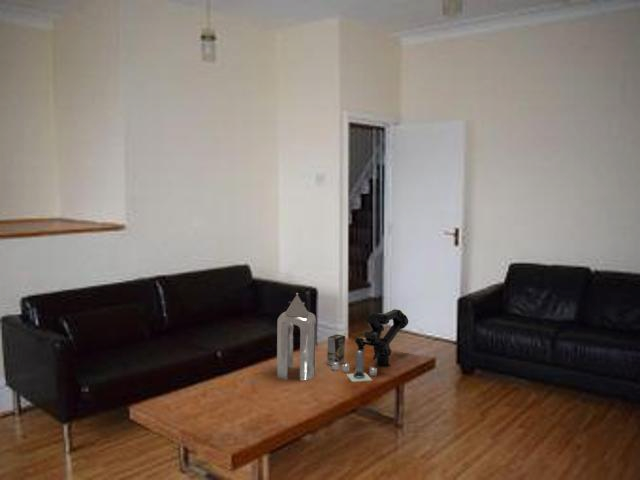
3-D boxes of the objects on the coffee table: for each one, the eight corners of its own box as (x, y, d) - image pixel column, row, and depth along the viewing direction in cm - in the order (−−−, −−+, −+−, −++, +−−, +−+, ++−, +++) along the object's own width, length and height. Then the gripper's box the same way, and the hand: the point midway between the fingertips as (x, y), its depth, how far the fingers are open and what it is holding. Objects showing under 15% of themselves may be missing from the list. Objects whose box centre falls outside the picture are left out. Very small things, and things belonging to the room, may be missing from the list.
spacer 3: (373, 373, 319) (373, 366, 318) (378, 375, 315) (378, 368, 315) (368, 374, 316) (368, 367, 316) (372, 377, 313) (372, 370, 312)
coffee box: (335, 366, 329) (336, 339, 327) (326, 364, 333) (327, 336, 331) (345, 362, 336) (345, 335, 335) (336, 360, 340) (336, 333, 338)
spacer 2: (348, 369, 324) (348, 362, 323) (350, 372, 320) (350, 365, 320) (341, 370, 323) (341, 363, 323) (343, 372, 319) (343, 365, 319)
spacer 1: (337, 368, 327) (338, 361, 326) (339, 370, 323) (339, 363, 322) (331, 368, 326) (331, 361, 325) (332, 370, 322) (332, 363, 321)
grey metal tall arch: (316, 368, 325) (317, 290, 320) (312, 381, 305) (313, 297, 300) (281, 366, 327) (281, 288, 322) (274, 379, 307) (275, 296, 302)
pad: (365, 373, 317) (365, 372, 317) (372, 380, 307) (372, 379, 307) (346, 375, 315) (346, 374, 315) (352, 382, 304) (352, 381, 304)
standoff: (360, 374, 315) (360, 348, 314) (366, 377, 310) (367, 351, 309) (351, 376, 312) (351, 349, 310) (357, 379, 307) (358, 352, 305)
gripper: (356, 323, 324) (346, 347, 316) (386, 328, 314) (376, 353, 306) (362, 333, 331) (353, 357, 323) (392, 339, 321) (383, 363, 313)
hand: (366, 357), depth 316 cm, fingers open, 9 cm apart
